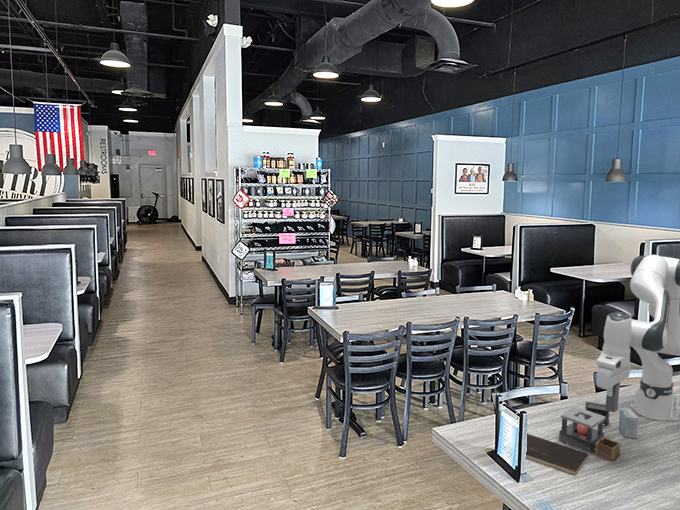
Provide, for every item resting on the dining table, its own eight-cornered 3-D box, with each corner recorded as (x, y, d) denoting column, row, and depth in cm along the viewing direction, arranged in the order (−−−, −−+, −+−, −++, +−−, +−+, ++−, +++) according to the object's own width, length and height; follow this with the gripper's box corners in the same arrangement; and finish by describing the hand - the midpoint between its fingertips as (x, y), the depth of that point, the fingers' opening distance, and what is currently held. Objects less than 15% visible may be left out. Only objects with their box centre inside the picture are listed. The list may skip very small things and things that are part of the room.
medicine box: (637, 438, 200) (639, 418, 199) (624, 437, 201) (626, 417, 200) (630, 429, 208) (631, 409, 207) (618, 428, 209) (620, 408, 208)
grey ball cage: (573, 430, 207) (575, 406, 205) (603, 442, 197) (605, 416, 196) (558, 440, 199) (560, 414, 197) (589, 452, 190) (592, 426, 188)
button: (579, 434, 200) (580, 421, 200) (588, 437, 198) (589, 425, 197) (574, 437, 198) (575, 424, 197) (584, 440, 195) (585, 428, 195)
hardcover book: (575, 477, 175) (575, 471, 175) (510, 454, 190) (510, 448, 189) (588, 458, 187) (588, 452, 187) (526, 438, 202) (526, 432, 201)
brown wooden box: (602, 449, 192) (603, 437, 192) (619, 456, 188) (620, 443, 187) (594, 454, 188) (595, 442, 188) (612, 461, 184) (613, 449, 183)
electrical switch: (608, 422, 214) (610, 402, 212) (609, 428, 210) (610, 408, 208) (584, 417, 218) (585, 398, 216) (584, 424, 214) (585, 404, 212)
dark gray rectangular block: (608, 407, 187) (610, 381, 186) (617, 410, 185) (619, 384, 184) (605, 409, 186) (607, 383, 184) (613, 412, 183) (616, 386, 182)
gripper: (618, 349, 192) (615, 384, 194) (594, 361, 179) (591, 398, 181) (636, 353, 187) (633, 389, 189) (613, 366, 174) (609, 404, 176)
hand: (612, 394), depth 185 cm, fingers closed on dark gray rectangular block, 3 cm apart
